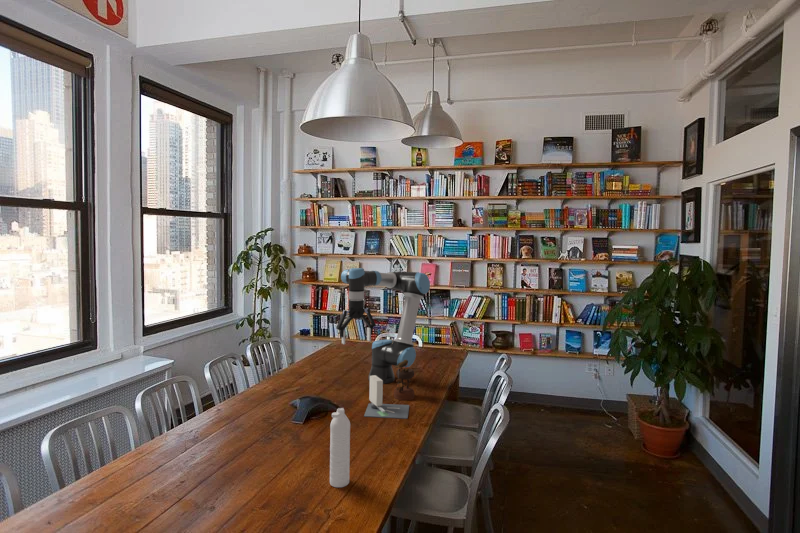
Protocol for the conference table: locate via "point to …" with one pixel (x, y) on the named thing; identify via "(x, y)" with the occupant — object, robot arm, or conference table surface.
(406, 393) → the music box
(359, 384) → the conference table surface
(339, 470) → the water bottle
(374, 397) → the white flat block
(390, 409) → the dial board
